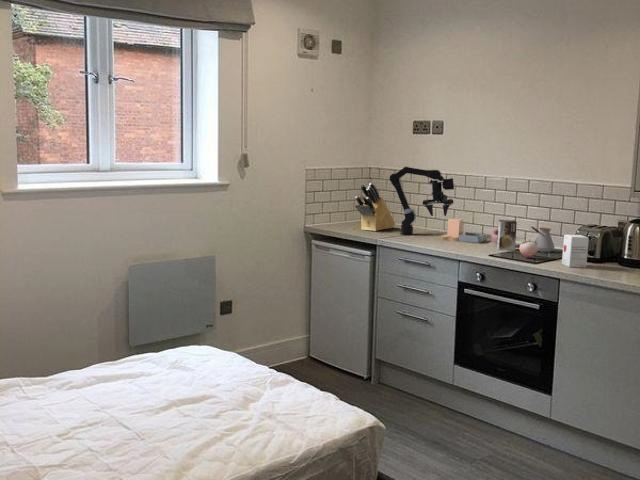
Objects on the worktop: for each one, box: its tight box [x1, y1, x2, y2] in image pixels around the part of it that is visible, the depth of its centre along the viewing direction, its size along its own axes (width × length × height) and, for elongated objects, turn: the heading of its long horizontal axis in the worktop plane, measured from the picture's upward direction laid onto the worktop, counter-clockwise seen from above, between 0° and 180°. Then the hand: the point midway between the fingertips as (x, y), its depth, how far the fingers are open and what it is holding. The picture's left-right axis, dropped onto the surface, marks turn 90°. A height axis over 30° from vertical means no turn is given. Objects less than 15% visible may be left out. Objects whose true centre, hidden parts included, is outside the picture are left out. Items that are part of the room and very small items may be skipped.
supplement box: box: [561, 234, 590, 268], centre depth 351 cm, size 9×9×15 cm
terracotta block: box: [446, 218, 464, 237], centre depth 429 cm, size 7×7×10 cm
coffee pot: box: [528, 226, 555, 253], centre depth 389 cm, size 21×12×15 cm, turn 135°
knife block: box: [355, 182, 396, 232], centre depth 459 cm, size 11×35×31 cm, turn 145°
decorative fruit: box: [519, 238, 538, 259], centre depth 369 cm, size 9×8×10 cm
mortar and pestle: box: [491, 227, 498, 245], centre depth 410 cm, size 12×12×12 cm
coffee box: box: [496, 219, 518, 251], centre depth 397 cm, size 9×6×16 cm
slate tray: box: [458, 231, 486, 244], centre depth 425 cm, size 12×14×4 cm
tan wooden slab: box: [438, 233, 459, 242], centre depth 430 cm, size 12×14×2 cm
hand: (438, 216), depth 437 cm, fingers open, 9 cm apart
